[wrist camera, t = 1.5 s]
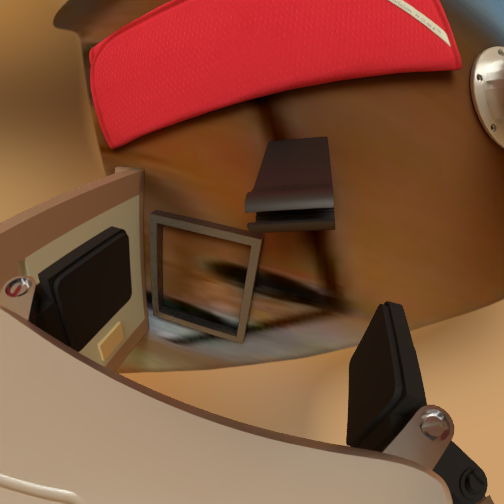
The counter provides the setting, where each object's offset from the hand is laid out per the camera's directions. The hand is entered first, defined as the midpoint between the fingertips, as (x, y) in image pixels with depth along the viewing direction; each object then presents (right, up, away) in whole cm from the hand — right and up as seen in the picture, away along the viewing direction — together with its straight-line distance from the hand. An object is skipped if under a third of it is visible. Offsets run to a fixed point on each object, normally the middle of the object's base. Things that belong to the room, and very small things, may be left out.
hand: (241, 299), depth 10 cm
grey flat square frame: (-6, -2, +28) cm, 29 cm away
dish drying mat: (0, +25, +14) cm, 29 cm away
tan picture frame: (-16, +1, +30) cm, 33 cm away
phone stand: (+6, +9, +20) cm, 23 cm away
